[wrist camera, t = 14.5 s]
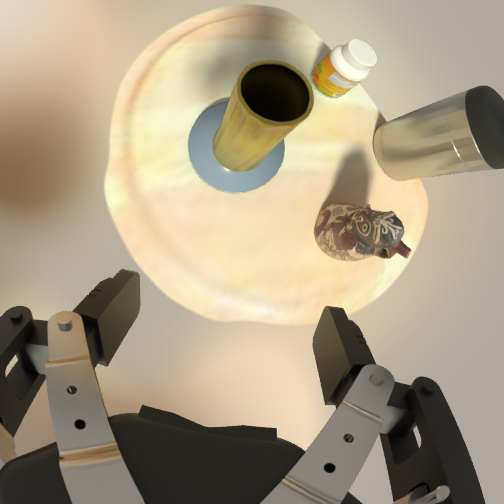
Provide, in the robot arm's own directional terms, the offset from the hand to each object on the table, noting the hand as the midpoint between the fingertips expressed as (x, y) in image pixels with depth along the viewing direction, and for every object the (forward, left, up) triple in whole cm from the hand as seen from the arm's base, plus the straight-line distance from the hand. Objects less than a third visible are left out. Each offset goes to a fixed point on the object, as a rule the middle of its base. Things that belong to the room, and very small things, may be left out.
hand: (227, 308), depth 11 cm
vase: (-3, -12, -19) cm, 23 cm away
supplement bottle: (-15, -25, -21) cm, 35 cm away
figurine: (-17, -4, -21) cm, 27 cm away
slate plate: (-3, -13, -20) cm, 24 cm away
